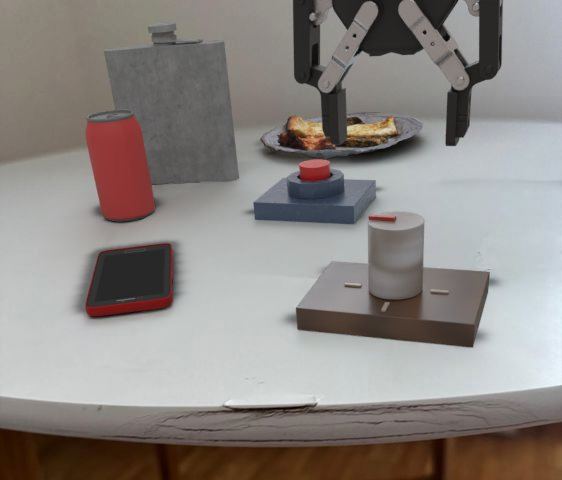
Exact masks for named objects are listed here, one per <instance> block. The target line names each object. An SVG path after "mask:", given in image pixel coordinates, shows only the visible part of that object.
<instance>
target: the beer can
mask: <svg viewBox="0 0 562 480" xmlns="http://www.w3.org/2000/svg"><path fill="white" fill-rule="evenodd" d="M85 120H86V126H85V142H86V143H85V144H86V146H87V151H88V156H89V160H90V166H91V170H92V175H93V179H94V184H95V189H96V192H97V197H98V202H99V206H100V211H101V215H102V216H103V217H104V218H105V219H106V220H108V221H111V222H120V223H121V222H123V223H124V221H125V222H132V220H133V221H138V220H141V219H144V218H146V217H148V216H150V215H151V214H152V213H153V212H154V211H155V207H156V203H155V197H154V192H153V185H151V180H150V174H149V168H148V163H147V157H146V151H145V146H144V140H143V134H142V130H141V127H140V125H139V123H138V121H137V119H136V118H135V116H134V112H133V111H132V110H124V109H122V110H115V109H109V110H101V111H98V112H93V113H90V114H89V115H87V116H86V118H85ZM137 219H138V220H137Z"/></svg>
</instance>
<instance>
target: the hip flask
mask: <svg viewBox="0 0 562 480" xmlns="http://www.w3.org/2000/svg"><path fill="white" fill-rule="evenodd" d="M147 31H148V33H149V34H151V36H150V37H151V42H152V44H143V45H134V46H120V47H113V48H107V49H104V50H103V53H104V59H105V65H106V69H107V75H108V80H109V85H110V90H111V97H112V101H113V106H114V110H122V109H124V110H132V111H133V112H134V116H135V118H136V119H137V121H138V123H139V125H140V127H141V130H142V134H143V140H144V146H145V151H146V157H147V163H148V168H149V174H150V180H151V186H153V185H152V184H157V185H167V184H166V183H172V184H186V183H185V182H196V183H203V182H205V183H206V182H207V183H208V182H210V183H211V182H212V183H213V182H216V183H228V182H233V181H237V180H239V178H240V175H239V173H240V171H239V165H238V156H237V146H236V136H235V129H234V127H235V126H234V118H233V117H234V116H233V109H232V101H231V100H232V99H231V89H230V83H229V82H230V81H229V72H228V64H227V63H228V62H227V55H226V44H225V41H224V40H219V39H218V40H204V38H178V37H177V34H175V31H177V23H176V22H160V23H155V24H150V25H147Z"/></svg>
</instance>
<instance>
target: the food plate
mask: <svg viewBox="0 0 562 480" xmlns="http://www.w3.org/2000/svg"><path fill="white" fill-rule="evenodd" d="M424 124H425V123H424V122H423V121H421V120H419V119H418V118H417V117H413V116H409V115H404V114H397V113H396V114H393V113H390V114H389V113H380V112H379V111H377V112H376V111H363V112H361V111H360V112H351V113H347V139H346V141H345V142H343V143H342V144H341V145H331V142H330V137H325V135H324V132H323V130H322V116H319V117H313V118H307V119H303V117H300V116H299V115H290V116H288V118H287V121H286V123H285V124H284V125H280V126H277V127H275V128H273V129H271V130H269V131H267V132H264V133H263V135H262V136H261V137H260V139H259V141H260V142H261V143H262V144H263V147H265V148H267V149H270V152H272V151H274V152H278V151H279V150H280V151H281V150H282V153H284V154H288V153H298V154H301V155H303V156H307V157H309V158H314V159H315V158H317V159H322V160H327V159H333V158H335V157H348V156H352V155H359V154H363V153H366V154H367V153H370V152H372V153H373V152H375V151H379V150H381V149H386V148H390V147H391V146H395V145H396V144H398V142H401V141H404V140H408V139H412V138H413V136H415V135H417V134H419V133H420V131H421V130H422V128H423V127H424ZM272 149H273V150H272Z"/></svg>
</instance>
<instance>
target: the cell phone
mask: <svg viewBox="0 0 562 480" xmlns="http://www.w3.org/2000/svg"><path fill="white" fill-rule="evenodd" d="M173 275H174V251H173V246H172V244H171V243H170V242H168V243H167V242H161V243H154V244H146V245H138V246H129V247H121V248H113V249H106V250H101V251H99V253H98V255H97V257H96V261H95V265H94V269H93V272H92V277H91V279H90V280H91V281H90V285H89V288H88V292H87V296H86V300H85V306H84V307H85V311H86V314H87V315H88V316H89V317H103V316H109V315H110V316H111V315H116V314H125V313H126V314H127V313H133V312H142V311H148V310H150V311H151V310H156V309H162V308H168V307H169V306H170V305H171V304H172V303H173V301H174V293H173V284H174V276H173Z"/></svg>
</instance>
